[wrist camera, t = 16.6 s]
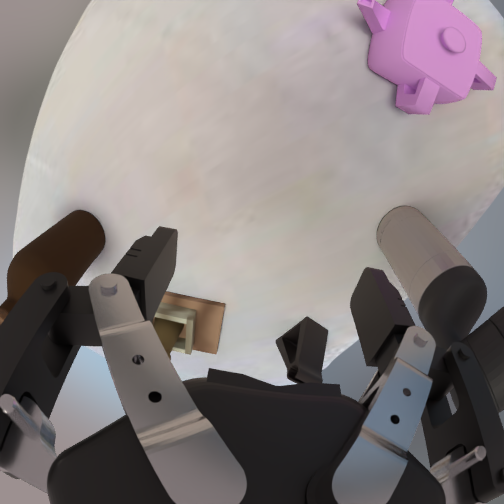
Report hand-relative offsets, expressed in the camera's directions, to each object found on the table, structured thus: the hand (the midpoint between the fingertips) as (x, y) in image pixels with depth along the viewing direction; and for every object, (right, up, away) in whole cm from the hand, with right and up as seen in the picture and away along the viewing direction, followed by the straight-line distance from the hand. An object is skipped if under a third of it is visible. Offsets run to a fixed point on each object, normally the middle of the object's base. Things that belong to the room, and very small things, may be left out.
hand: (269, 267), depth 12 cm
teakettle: (+21, +30, +16) cm, 40 cm away
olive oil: (-31, +4, +35) cm, 47 cm away
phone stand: (+9, -16, +44) cm, 48 cm away
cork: (-17, -13, +43) cm, 48 cm away
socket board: (-17, -13, +44) cm, 48 cm away
